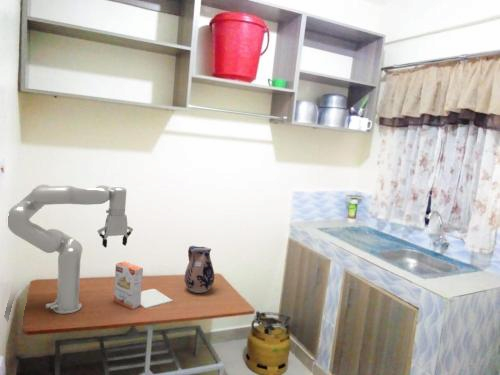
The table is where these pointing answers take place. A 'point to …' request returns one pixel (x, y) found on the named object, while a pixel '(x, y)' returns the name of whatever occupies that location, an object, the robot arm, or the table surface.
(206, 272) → the ceramic pitcher
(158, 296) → the mat
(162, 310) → the table surface
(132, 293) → the cracker box
